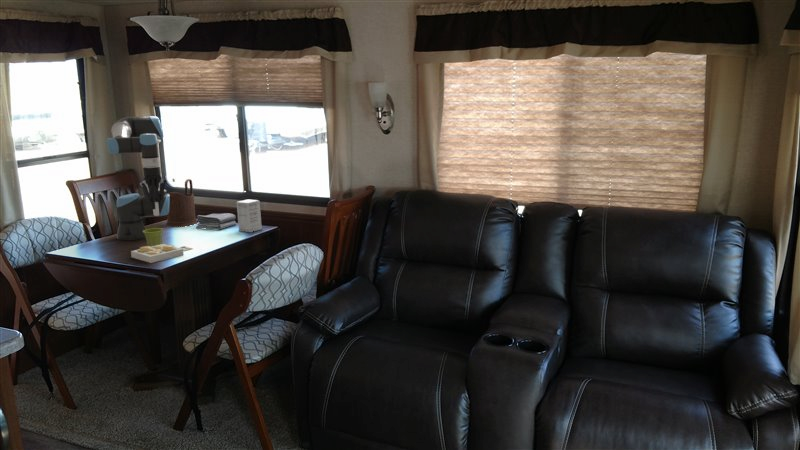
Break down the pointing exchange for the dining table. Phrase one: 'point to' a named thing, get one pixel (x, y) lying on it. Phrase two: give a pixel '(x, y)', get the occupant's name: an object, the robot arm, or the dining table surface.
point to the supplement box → (249, 215)
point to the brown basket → (181, 208)
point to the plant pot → (153, 236)
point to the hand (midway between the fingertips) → (156, 215)
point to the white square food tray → (156, 257)
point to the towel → (216, 221)
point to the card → (185, 248)
